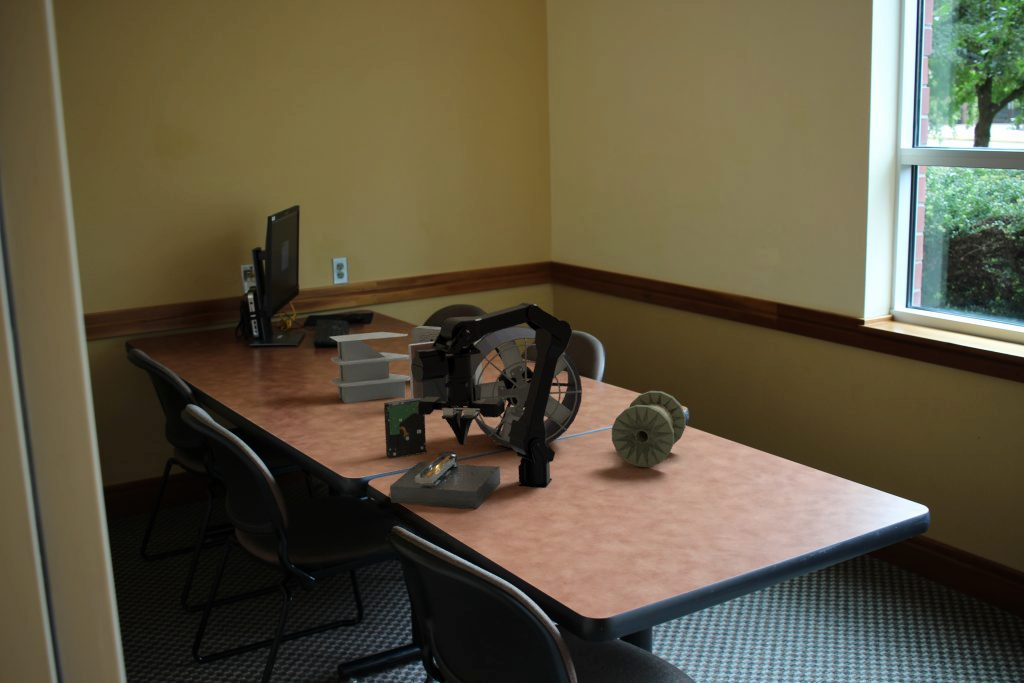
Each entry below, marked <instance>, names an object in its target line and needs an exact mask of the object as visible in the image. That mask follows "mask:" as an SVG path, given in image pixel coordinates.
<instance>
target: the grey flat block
mask: <svg viewBox="0 0 1024 683" xmlns="http://www.w3.org/2000/svg"><path fill="white" fill-rule="evenodd" d="M431 463H432V462H427V461H426V462H425V461H419V462H418V463H417V464H415V465H413V467H412V468H410V469H409V470H408V471H406V472H405V473H404V474H403V475H402V476H401V477H399V478H398V479H397V480H396V481H394V482H393V483H391V484H390V486H389V491H390V503H393V504H402V505H404V504H405V505H414V506H425V507H437V508H438V507H439V508H440V507H441V508H453V509H469V510H470V509H471V510H477V509H478V508H479V507H480V506H481V505H482V504H483V503H484V502H485V500H487V498H488V497H489V496H490V495H491V494H492V493H493V492H494V491H495V490H496V489H497V487H498V486H499V485H500V484H501V467H500V466H496V465H494V466H493V465H477V464H462V463H461V464H460V463H458V465H457V466H456V467H452V468H449V469H448V470H447V471H446V472H444V473H443V474H442V475H441V476H440V477H439V478H438V479H437V480H436V481H434V482H433V483H432V484H431V483H416V482H415V477H416V476H417V475H418V474H419V473H420V472H422V471H423V470H424V469H425V468H426V467H427V466H429V465H430V464H431Z"/></svg>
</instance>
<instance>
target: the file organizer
mask: <svg viewBox="0 0 1024 683" xmlns="http://www.w3.org/2000/svg"><path fill="white" fill-rule="evenodd" d="M408 335H409V334H408V333H399V332H385V331H378V332H365V333H355V334H343V335H336V336H335V335H334V336H329V338H330V339H332V340H334V341H336V342H337V344H336V345H337V356H332V357H330V361H331V362H333V363H335V364H336V365H338V372H339V373H338V374H339V377H335V378H334V377H333V378H331V382H332V383H334V384H335V385H337V386H338V387H337V388H338V390H337V391H338V398H339V399H342V400H341V401H342V402H343V403H345V404H349V403H350V404H351V403H357V402H365V401H373V400H374V401H375V400H382V399H393V398H394V399H395V398H396V399H401V398H402V399H406V398H407V396H406V395H407V394H406V390H407V389H406V382H408V381H410V375H403V374H394V373H390V367H389V366H390V365H389V362H392V361H393V362H394V361H403V360H409V354H401V353H393V352H386V351H385V352H379V351H378V350H376V349H375V348H373V347H371V346H370V345H368V344H367V343H365V342H364V341H363V340H375V339H377V340H378V339H388V338H398V337H399V338H400V337H407V336H408Z"/></svg>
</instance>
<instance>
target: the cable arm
mask: <svg viewBox="0 0 1024 683" xmlns="http://www.w3.org/2000/svg"><path fill="white" fill-rule="evenodd" d="M430 463H431V464H430V465H429V466H427V467H426V468H425V469H424V470H423V471H422V472H420V473H419V474H418V475H417V476H416V477H415V482H416V483H431V484H432V483H433V482H434V481H436V480H437V479H438V478H439V477H440V476H441V475H442V474H443V473H444V472H446V471H447V470H448V469H449V468H452V467H456V466H457V465H458V464H459V463H458V453H457V452H456V451H450V450H449V451H448V450H447V451H441V452H439V453H438V457H437V458H435V459H434V460H433V461H432V462H430Z"/></svg>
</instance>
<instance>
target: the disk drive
mask: <svg viewBox="0 0 1024 683" xmlns="http://www.w3.org/2000/svg"><path fill="white" fill-rule="evenodd" d="M421 400H422V398H415V399H411V398H409V399H401V400H393V401H386V402H383V404H384V405H383V408H384V409H383V411H384V412H383V413H384V414H383V415H384V429H385V432H384V433H385V449H386V450H385V451H386V457H387V458H389V459H396V458H401V456H402V457H407V455H408V456H411V454H412V455H415V454H416V453H420V454H424V452H426V453H427V440H426V439H427V438H426V416H425V415H422V414H417V404H418V402H419V401H421Z"/></svg>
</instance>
